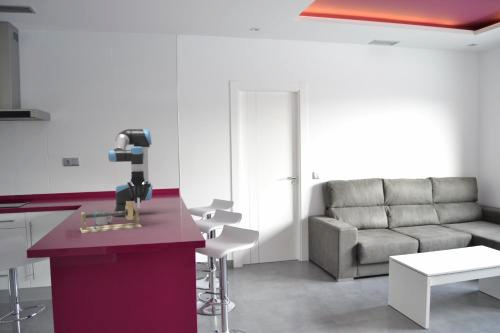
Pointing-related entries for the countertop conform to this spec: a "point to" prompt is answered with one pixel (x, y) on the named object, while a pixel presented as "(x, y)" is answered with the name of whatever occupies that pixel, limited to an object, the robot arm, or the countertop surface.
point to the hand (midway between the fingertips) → (138, 208)
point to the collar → (129, 210)
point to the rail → (109, 227)
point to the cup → (103, 218)
